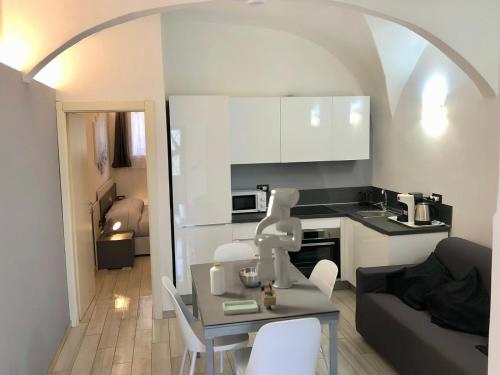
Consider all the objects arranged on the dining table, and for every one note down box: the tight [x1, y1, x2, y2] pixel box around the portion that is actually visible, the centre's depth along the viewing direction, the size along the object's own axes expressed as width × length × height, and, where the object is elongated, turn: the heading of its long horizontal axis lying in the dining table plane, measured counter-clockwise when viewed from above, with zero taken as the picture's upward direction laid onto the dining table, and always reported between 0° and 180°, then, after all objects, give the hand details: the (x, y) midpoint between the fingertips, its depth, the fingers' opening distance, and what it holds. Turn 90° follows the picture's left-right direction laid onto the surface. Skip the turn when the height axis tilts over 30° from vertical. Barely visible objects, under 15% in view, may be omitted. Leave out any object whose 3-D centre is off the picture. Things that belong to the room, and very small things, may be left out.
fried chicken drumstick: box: [261, 283, 277, 307], centre depth 242 cm, size 12×6×5 cm, turn 8°
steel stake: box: [265, 294, 272, 311], centre depth 240 cm, size 3×3×8 cm
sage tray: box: [221, 299, 259, 316], centre depth 241 cm, size 18×12×2 cm, turn 98°
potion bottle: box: [209, 262, 226, 296], centre depth 266 cm, size 8×8×18 cm
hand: (266, 292), depth 247 cm, fingers closed on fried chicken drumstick, 3 cm apart
